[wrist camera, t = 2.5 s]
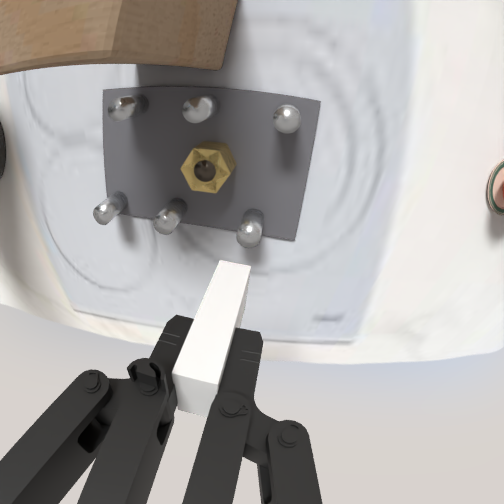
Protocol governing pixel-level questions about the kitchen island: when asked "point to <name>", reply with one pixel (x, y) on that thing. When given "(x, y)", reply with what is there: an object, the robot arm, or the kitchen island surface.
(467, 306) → the kitchen island surface
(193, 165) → the nut
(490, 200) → the apple
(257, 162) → the grey flat plate
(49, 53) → the wooden block
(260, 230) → the set of silver pegs
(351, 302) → the kitchen island surface
